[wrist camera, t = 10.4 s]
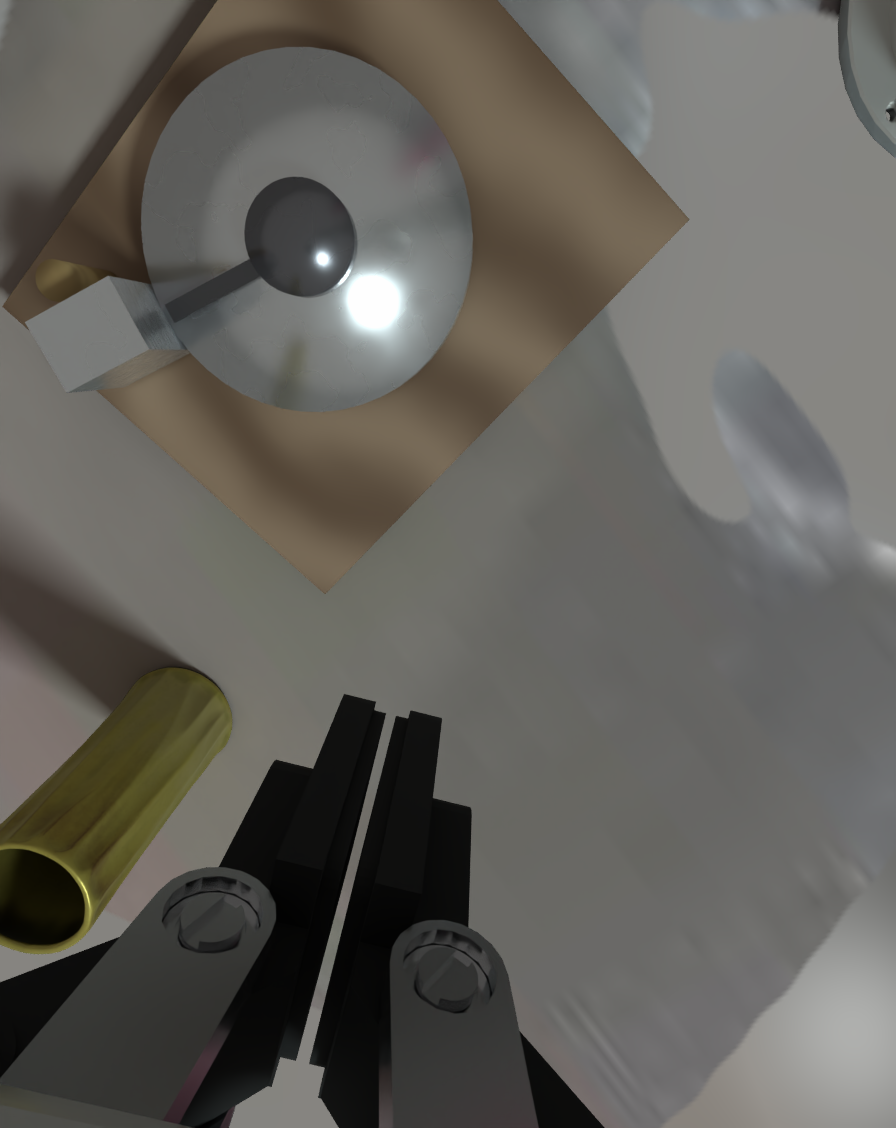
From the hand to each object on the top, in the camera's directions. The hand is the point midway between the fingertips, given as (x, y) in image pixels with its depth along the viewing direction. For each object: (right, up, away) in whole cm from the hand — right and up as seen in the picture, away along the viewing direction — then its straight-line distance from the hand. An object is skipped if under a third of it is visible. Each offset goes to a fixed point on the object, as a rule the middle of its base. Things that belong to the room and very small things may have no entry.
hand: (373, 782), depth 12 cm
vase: (-14, -5, +29) cm, 32 cm away
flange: (-6, +17, +20) cm, 27 cm away
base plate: (-4, +17, +21) cm, 28 cm away
